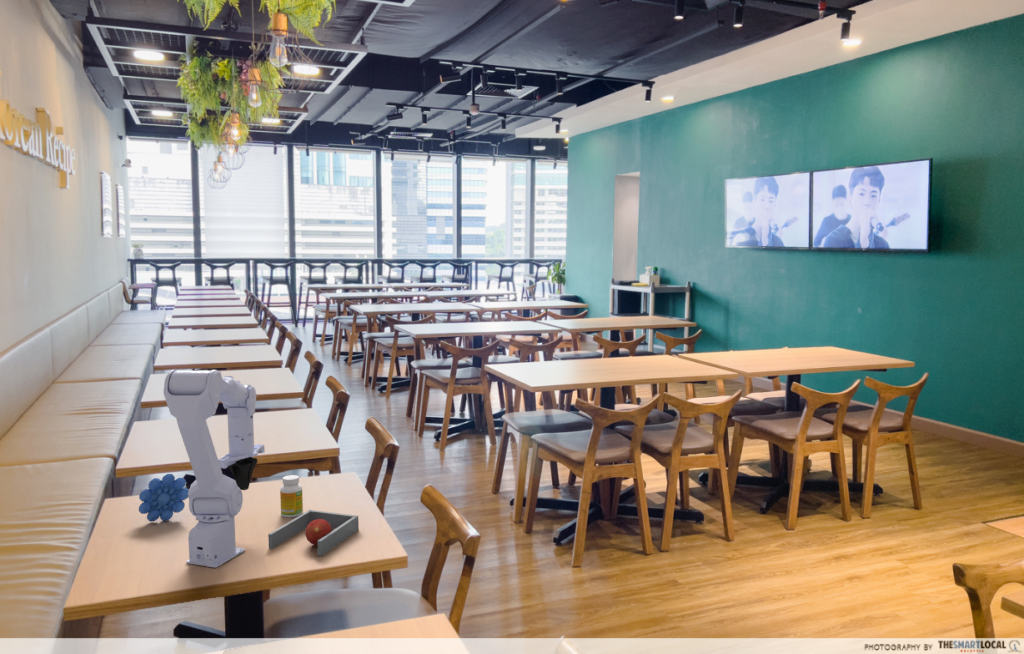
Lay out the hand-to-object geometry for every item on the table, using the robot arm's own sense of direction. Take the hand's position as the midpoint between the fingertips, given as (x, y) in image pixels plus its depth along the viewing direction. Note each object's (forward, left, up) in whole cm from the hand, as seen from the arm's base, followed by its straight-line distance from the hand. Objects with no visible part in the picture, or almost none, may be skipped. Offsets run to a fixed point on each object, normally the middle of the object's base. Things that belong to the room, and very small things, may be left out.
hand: (243, 489), depth 171 cm
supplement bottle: (+12, -5, -10) cm, 16 cm away
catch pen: (0, -20, -10) cm, 22 cm away
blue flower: (-1, +23, -10) cm, 25 cm away
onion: (-6, -25, -5) cm, 26 cm away
